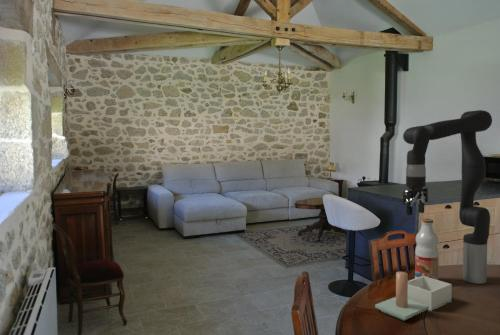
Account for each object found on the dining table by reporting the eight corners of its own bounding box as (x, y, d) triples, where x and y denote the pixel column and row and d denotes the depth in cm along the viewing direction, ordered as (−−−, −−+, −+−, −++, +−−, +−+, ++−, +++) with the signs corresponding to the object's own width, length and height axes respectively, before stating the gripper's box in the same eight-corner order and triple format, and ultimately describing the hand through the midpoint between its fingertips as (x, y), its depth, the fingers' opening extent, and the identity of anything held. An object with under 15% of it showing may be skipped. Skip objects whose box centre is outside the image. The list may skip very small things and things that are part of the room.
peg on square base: (398, 301, 151) (398, 265, 150) (428, 312, 140) (429, 273, 140) (375, 311, 142) (375, 272, 142) (405, 323, 132) (405, 282, 131)
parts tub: (422, 292, 159) (422, 275, 159) (451, 301, 149) (451, 284, 149) (402, 300, 151) (402, 283, 151) (431, 311, 141) (431, 292, 141)
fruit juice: (442, 285, 167) (443, 221, 165) (420, 285, 167) (421, 221, 165) (431, 277, 176) (432, 217, 175) (411, 278, 176) (411, 217, 175)
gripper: (414, 176, 153) (413, 217, 154) (433, 174, 161) (433, 213, 162) (397, 175, 159) (397, 214, 160) (417, 173, 167) (417, 210, 168)
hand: (415, 213), depth 161 cm, fingers open, 8 cm apart
